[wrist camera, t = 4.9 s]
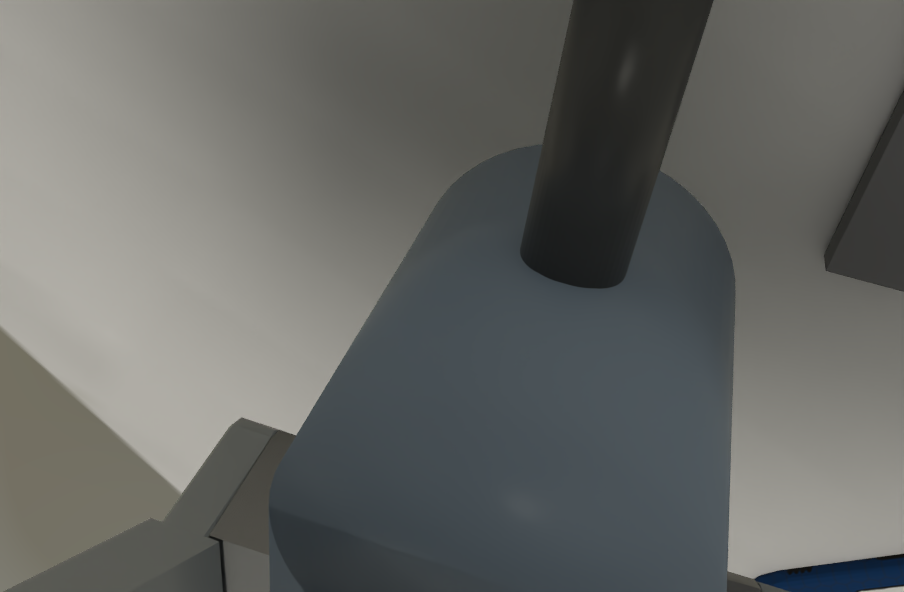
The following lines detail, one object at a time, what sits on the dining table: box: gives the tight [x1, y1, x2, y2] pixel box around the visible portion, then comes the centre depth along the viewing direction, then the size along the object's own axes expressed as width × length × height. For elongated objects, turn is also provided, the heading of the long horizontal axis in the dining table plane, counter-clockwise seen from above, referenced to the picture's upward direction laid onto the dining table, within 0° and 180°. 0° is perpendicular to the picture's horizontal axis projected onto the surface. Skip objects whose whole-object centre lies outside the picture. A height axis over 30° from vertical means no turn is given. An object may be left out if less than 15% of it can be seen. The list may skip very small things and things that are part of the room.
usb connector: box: [269, 0, 735, 592], centre depth 9 cm, size 14×4×4 cm, turn 172°
